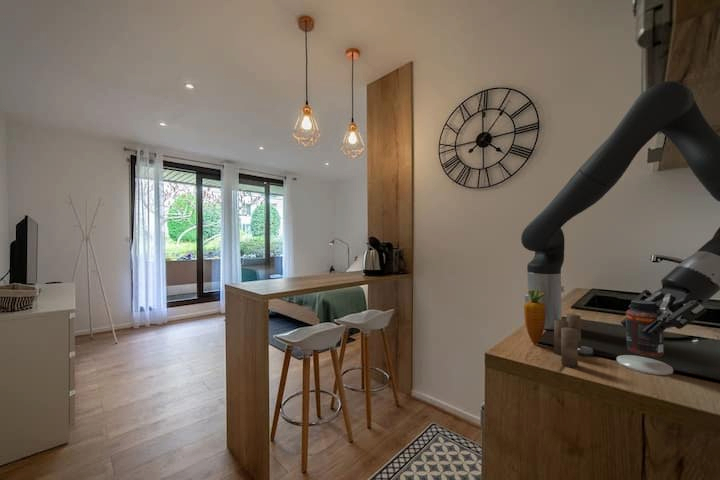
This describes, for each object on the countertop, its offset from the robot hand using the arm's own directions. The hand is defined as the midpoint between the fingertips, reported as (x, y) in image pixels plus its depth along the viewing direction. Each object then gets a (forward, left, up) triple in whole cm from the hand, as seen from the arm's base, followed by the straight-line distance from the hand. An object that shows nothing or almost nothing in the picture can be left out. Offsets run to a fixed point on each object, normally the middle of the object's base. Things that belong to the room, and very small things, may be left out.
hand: (635, 330), depth 65 cm
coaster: (+1, +1, -8) cm, 8 cm away
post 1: (-11, -8, -8) cm, 16 cm away
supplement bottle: (+1, +1, -5) cm, 5 cm away
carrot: (-18, -8, -8) cm, 21 cm away
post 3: (-6, -13, -8) cm, 16 cm away
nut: (-9, -3, -8) cm, 12 cm away
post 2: (-13, 0, -8) cm, 15 cm away
